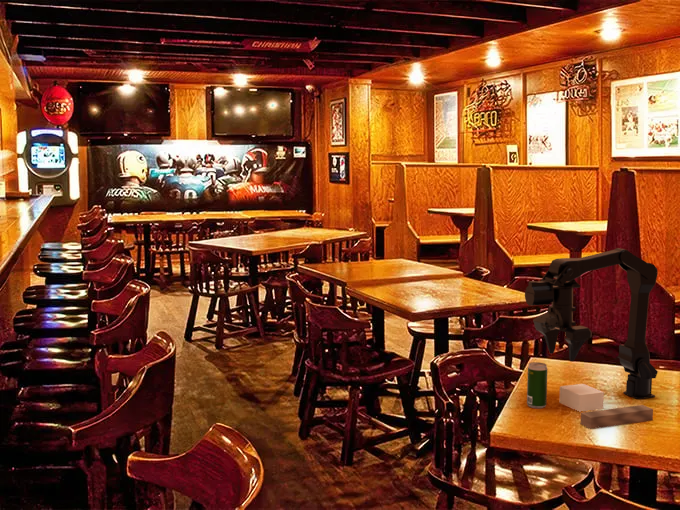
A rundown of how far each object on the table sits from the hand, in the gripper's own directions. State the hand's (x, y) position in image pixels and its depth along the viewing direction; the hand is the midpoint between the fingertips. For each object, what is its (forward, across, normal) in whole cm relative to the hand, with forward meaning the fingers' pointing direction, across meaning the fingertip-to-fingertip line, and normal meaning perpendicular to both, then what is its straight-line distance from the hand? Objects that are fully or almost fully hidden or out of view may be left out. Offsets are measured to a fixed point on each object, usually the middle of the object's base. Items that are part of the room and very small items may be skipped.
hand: (561, 357), depth 219 cm
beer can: (+13, +1, -9) cm, 16 cm away
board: (+13, +20, +3) cm, 24 cm away
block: (+13, +5, +3) cm, 15 cm away
